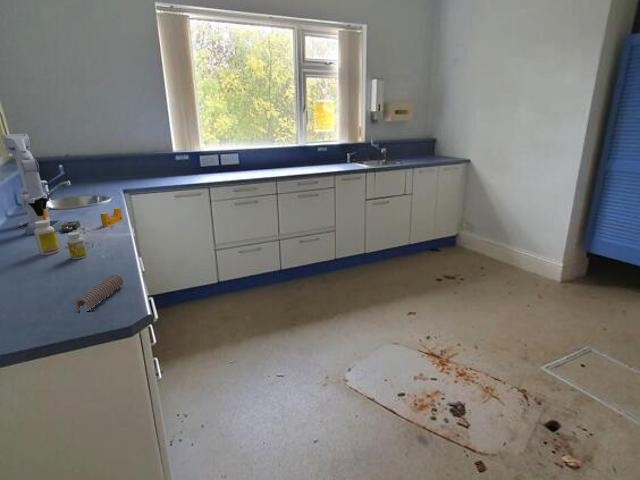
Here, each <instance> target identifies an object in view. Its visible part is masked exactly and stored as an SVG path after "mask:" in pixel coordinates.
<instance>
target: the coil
mask: <svg viewBox="0 0 640 480" xmlns="http://www.w3.org/2000/svg"><path fill="white" fill-rule="evenodd" d="M121 285H122V286H123V285H124V279H123V277H122V276H121V275H120V274H117V273H112V274H111V275H110V276H109V277H107V278H105V279H104V280H102V281H101V282H99V283H98V284H96V285H95V286H93V287H92V288H91V289H89V290H88V291H86V292H85V293H83V294H82V295H80V296H79V297H78V298H77V299H75V301H74V305H75V306H74V307H75V308H76V309H77V308H80V306H83V305H84V304H85V303H86V305H87V309H90V308H91V307H93V306H94V305H95V304H97V303H98V302H99V301H101V300H102V299H104V298H105V297H107V296H108V295H110V294H111V293H112V292H114V291H115V290H116V289H117V288H119V287H120V286H121ZM120 288H121V287H120ZM120 288H119V289H120ZM116 291H117V290H116ZM116 291H115V292H116ZM115 292H114V293H115ZM112 294H113V293H112ZM112 294H111V295H112ZM111 295H110V296H111ZM108 297H109V296H108ZM108 297H107V298H108ZM104 300H105V299H104Z"/></svg>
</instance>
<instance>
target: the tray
mask: <svg viewBox="0 0 640 480" xmlns="http://www.w3.org/2000/svg"><path fill="white" fill-rule="evenodd" d="M49 222H50V226H51V227H53V228H54V230H55V233H56V232H57V231H58V230H60V229H62V227H61V225H62V224H63V223H64V222H63V220H62V219H57V220H56V219H55V220H50V221H49ZM36 228H37V227H36V226H35V222H34V223H33V224H31V225H27V227H25V228H24V231H25V234H26V235H27V236H28V235H35V234H34V230H35V229H36Z"/></svg>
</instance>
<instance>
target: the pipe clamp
mask: <svg viewBox="0 0 640 480" xmlns="http://www.w3.org/2000/svg"><path fill="white" fill-rule="evenodd" d="M122 213H123V212H122V208H121V207H114V208H113V214H110V215H109V213H108V212H100V213H99V215H100V216H99V217H100V220H101V224H102V227H109V226H112V225H115V224H116V223H119V222H121V221H123V219H124V218H123V214H122ZM118 221H119V222H118Z"/></svg>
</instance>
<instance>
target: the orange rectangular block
mask: <svg viewBox="0 0 640 480" xmlns="http://www.w3.org/2000/svg"><path fill="white" fill-rule="evenodd" d="M47 210H48V207H47V208H43V216H39V218H43V220H46V218H47V217H48V216H49V217H50V214H49V211H47ZM48 214H49V215H48Z"/></svg>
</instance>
